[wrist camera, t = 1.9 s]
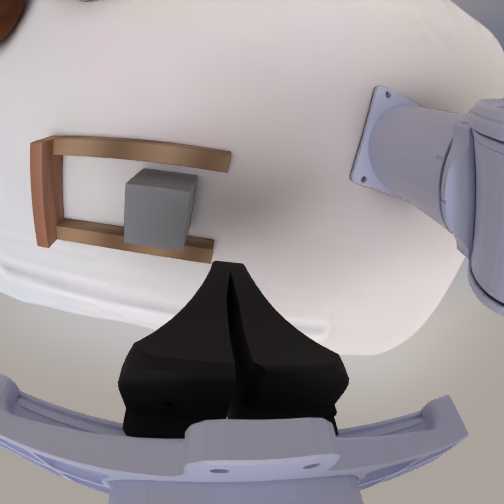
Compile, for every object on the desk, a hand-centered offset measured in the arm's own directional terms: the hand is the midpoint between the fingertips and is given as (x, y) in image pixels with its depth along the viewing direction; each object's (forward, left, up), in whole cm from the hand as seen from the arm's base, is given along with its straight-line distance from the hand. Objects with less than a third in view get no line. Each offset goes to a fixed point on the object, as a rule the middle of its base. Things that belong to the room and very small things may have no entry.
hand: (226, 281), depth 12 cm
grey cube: (+4, 0, -9) cm, 10 cm away
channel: (+7, 0, -9) cm, 12 cm away
